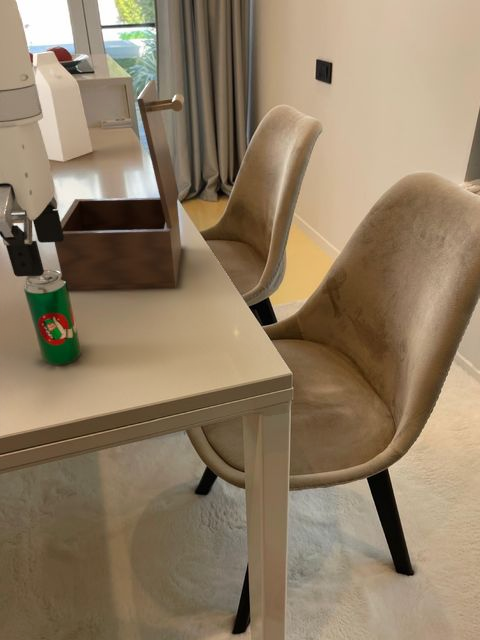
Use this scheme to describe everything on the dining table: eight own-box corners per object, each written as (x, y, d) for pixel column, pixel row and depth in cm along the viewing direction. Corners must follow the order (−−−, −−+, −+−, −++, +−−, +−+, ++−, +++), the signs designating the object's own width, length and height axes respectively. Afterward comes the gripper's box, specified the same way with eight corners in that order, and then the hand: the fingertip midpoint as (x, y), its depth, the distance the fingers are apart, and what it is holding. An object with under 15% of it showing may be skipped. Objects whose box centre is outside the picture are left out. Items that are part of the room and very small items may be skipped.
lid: (136, 99, 76) (176, 93, 76) (149, 80, 89) (182, 75, 89) (167, 228, 87) (201, 223, 86) (174, 194, 100) (204, 190, 100)
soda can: (58, 343, 79) (39, 265, 72) (89, 350, 77) (72, 271, 71) (35, 363, 75) (12, 282, 68) (67, 370, 73) (47, 289, 67)
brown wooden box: (65, 291, 92) (52, 233, 86) (85, 251, 105) (75, 199, 99) (175, 288, 92) (170, 231, 87) (181, 248, 106) (176, 197, 100)
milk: (62, 147, 167) (43, 49, 153) (92, 151, 163) (76, 51, 149) (32, 156, 158) (9, 53, 144) (63, 162, 154) (43, 56, 140)
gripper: (-6, 92, 65) (30, 231, 75) (-71, 124, 51) (-16, 292, 60) (59, 90, 65) (87, 229, 75) (13, 122, 51) (55, 289, 61)
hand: (41, 257), depth 68 cm, fingers open, 9 cm apart
